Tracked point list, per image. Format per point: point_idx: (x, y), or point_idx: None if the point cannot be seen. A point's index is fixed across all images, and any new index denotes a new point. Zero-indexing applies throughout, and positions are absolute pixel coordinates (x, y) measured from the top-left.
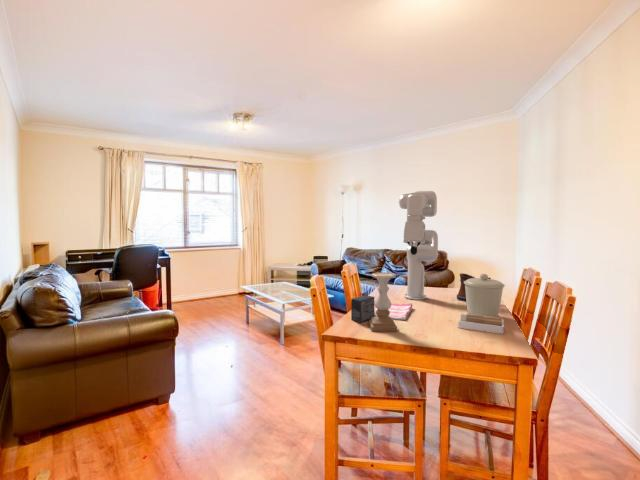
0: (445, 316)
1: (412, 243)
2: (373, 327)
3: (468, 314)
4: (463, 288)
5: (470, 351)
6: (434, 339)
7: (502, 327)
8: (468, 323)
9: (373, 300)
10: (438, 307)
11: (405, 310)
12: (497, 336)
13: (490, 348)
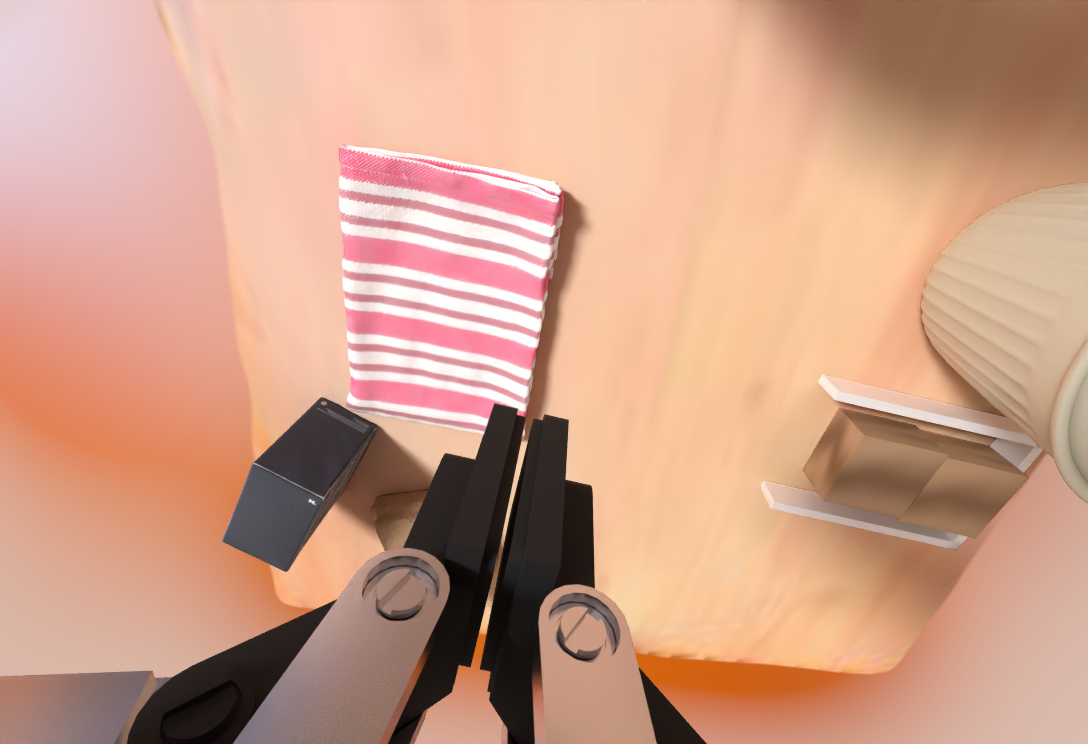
0: (753, 325)
1: (389, 700)
2: None
3: (861, 452)
4: None
5: (721, 659)
6: (628, 600)
7: (948, 545)
8: (811, 514)
9: (331, 493)
10: (771, 97)
11: (520, 301)
12: (888, 550)
13: (796, 638)
